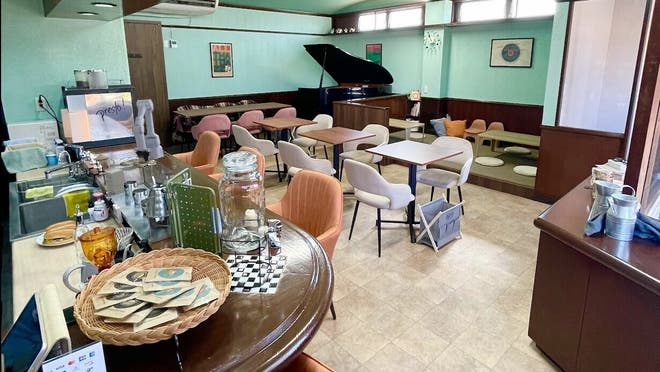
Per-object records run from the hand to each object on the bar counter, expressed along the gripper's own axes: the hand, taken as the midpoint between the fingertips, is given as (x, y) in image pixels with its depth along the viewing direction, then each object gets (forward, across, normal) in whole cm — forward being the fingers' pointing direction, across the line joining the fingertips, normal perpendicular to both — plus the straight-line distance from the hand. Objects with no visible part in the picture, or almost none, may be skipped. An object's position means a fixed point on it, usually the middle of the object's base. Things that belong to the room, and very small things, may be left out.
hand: (144, 160), depth 289 cm
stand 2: (+3, 0, 0) cm, 3 cm away
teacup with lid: (+3, -16, -19) cm, 25 cm away
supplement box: (+3, +37, -50) cm, 62 cm away
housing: (+1, 0, 0) cm, 1 cm away
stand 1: (+3, -14, 0) cm, 14 cm away
